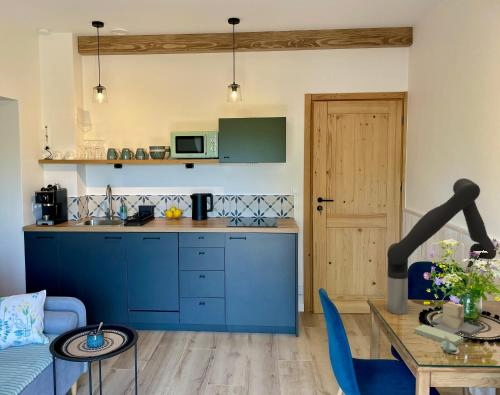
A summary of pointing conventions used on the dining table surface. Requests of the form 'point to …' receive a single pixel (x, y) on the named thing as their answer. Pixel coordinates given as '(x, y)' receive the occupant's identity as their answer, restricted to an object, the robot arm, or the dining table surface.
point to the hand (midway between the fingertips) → (457, 313)
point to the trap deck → (446, 331)
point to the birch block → (453, 315)
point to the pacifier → (449, 346)
